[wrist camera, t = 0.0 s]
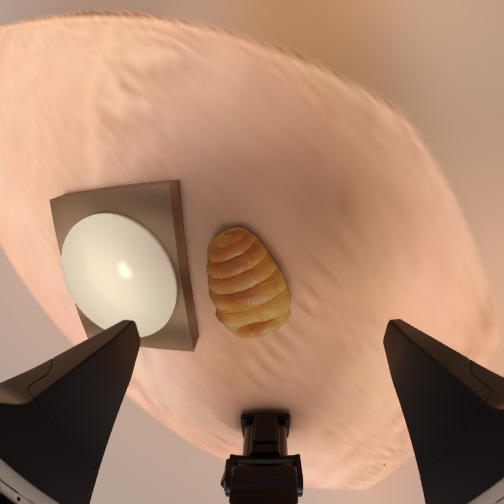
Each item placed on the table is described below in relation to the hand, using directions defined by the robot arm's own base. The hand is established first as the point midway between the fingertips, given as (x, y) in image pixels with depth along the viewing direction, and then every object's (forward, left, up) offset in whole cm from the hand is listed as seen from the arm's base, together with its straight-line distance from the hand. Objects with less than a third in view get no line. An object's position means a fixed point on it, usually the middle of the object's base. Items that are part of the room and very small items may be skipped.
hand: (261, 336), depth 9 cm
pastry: (-3, 0, -16) cm, 16 cm away
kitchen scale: (-4, +13, -15) cm, 21 cm away
